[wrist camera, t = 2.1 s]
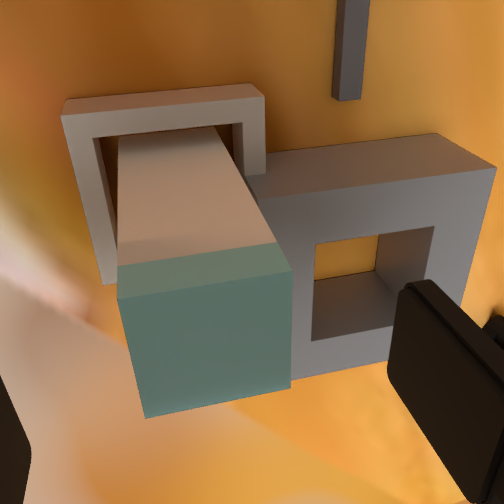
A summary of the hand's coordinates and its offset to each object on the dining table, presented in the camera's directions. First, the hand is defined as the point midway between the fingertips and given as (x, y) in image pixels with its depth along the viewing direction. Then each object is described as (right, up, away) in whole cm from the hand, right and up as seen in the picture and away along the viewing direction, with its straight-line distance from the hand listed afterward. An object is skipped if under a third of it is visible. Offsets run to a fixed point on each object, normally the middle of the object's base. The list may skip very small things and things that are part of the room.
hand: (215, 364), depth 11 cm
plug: (-2, +6, +8) cm, 10 cm away
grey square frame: (-2, +6, +8) cm, 10 cm away
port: (+5, +3, +11) cm, 12 cm away
